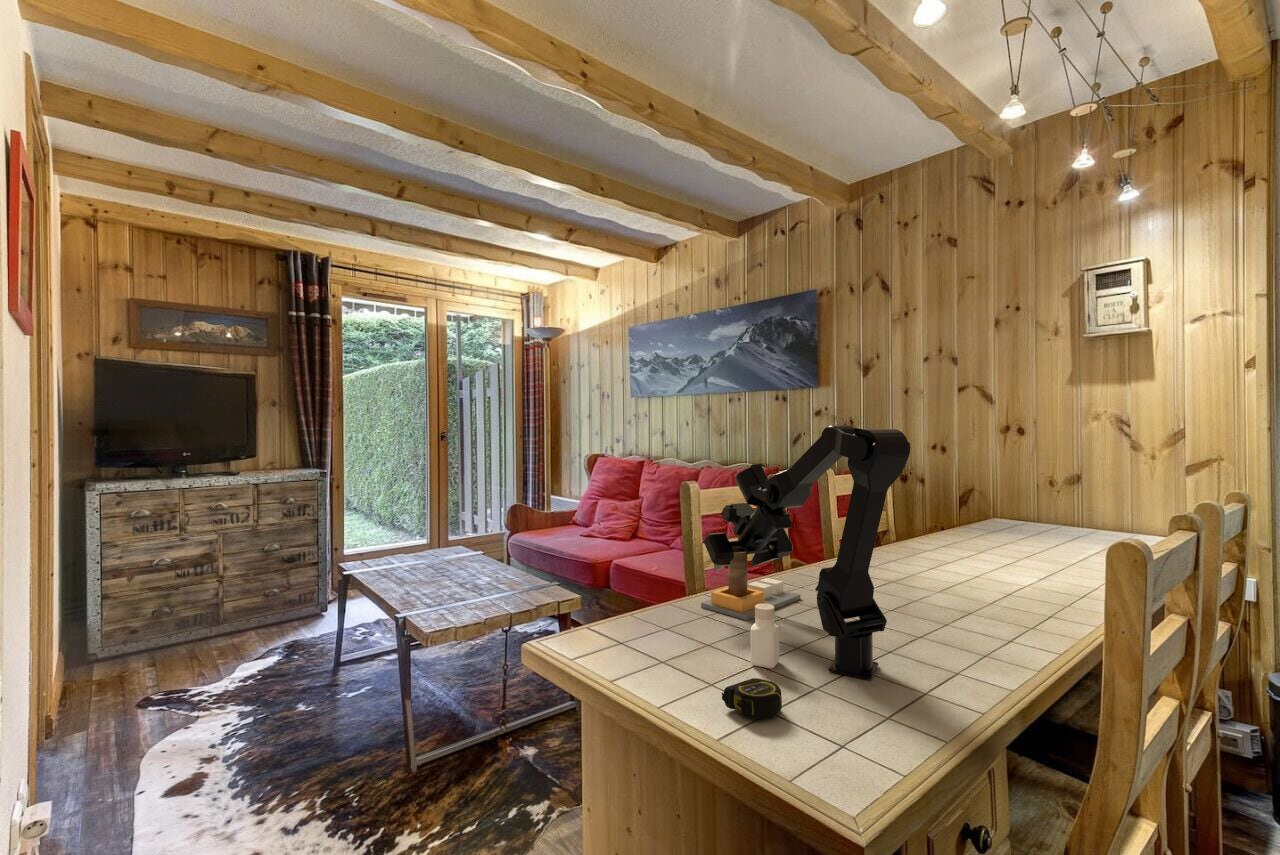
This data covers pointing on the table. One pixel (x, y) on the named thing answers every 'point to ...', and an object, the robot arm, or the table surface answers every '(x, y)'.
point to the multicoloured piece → (750, 599)
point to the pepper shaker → (764, 637)
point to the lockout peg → (738, 575)
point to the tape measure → (754, 698)
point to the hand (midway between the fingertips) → (734, 566)
